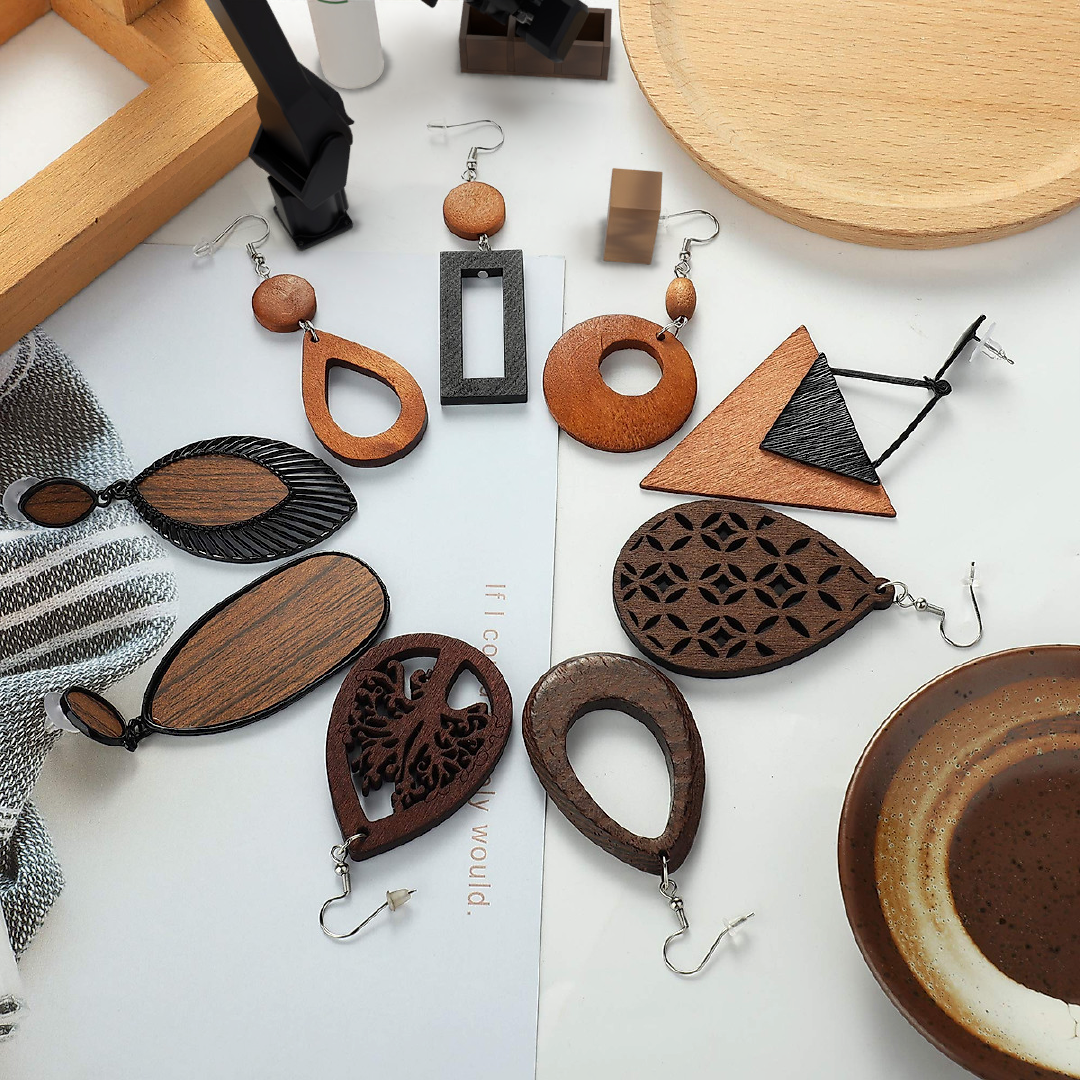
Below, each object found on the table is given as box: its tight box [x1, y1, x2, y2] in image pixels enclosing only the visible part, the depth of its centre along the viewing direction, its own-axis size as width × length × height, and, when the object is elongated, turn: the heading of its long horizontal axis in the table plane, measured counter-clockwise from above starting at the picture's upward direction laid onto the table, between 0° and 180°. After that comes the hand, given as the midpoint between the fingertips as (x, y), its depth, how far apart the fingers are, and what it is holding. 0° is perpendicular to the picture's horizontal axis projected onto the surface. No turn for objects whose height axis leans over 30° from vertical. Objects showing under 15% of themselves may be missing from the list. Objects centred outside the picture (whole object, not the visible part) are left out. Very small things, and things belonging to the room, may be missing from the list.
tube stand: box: [603, 167, 663, 265], centre depth 99 cm, size 5×5×8 cm
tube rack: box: [458, 0, 613, 81], centre depth 112 cm, size 17×6×4 cm, turn 87°
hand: (544, 13), depth 110 cm, fingers closed on test tube, 3 cm apart
